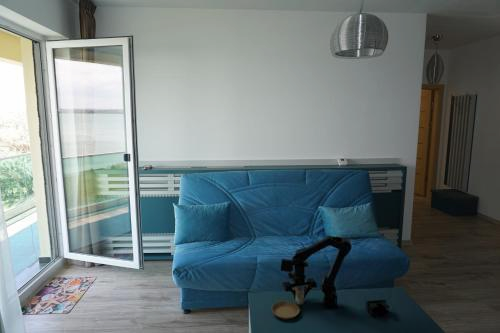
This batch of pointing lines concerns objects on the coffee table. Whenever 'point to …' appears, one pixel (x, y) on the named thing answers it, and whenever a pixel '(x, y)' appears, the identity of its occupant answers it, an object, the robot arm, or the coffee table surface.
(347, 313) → the coffee table surface
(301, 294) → the taupe streaky block
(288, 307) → the plant saucer
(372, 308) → the end cap
